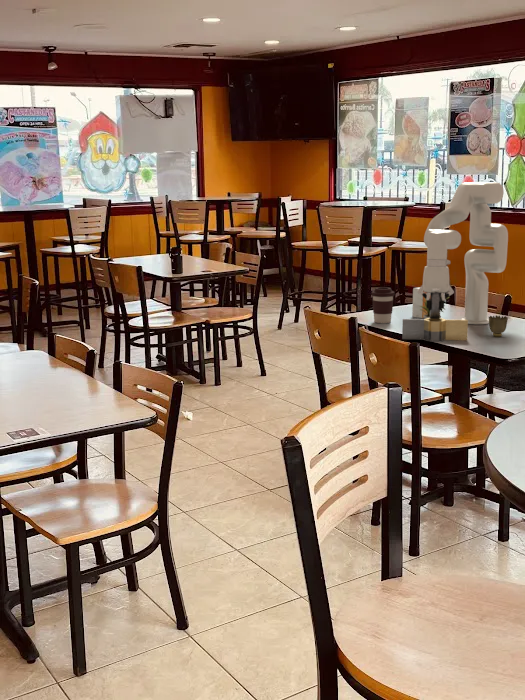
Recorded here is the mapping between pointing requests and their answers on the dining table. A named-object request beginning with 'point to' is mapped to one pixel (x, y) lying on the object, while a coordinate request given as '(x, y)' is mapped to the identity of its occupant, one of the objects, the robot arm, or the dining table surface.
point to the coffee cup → (382, 304)
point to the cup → (497, 325)
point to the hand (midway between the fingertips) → (435, 309)
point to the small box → (418, 304)
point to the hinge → (434, 329)
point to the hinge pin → (435, 304)
